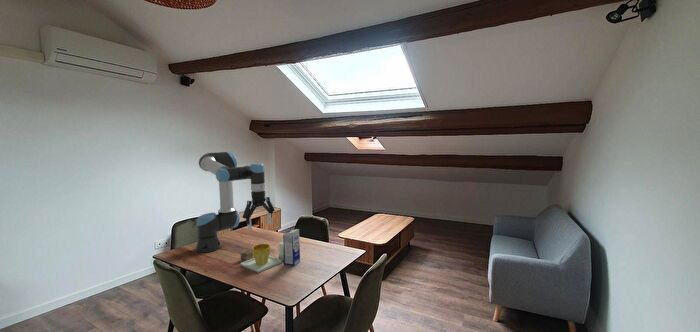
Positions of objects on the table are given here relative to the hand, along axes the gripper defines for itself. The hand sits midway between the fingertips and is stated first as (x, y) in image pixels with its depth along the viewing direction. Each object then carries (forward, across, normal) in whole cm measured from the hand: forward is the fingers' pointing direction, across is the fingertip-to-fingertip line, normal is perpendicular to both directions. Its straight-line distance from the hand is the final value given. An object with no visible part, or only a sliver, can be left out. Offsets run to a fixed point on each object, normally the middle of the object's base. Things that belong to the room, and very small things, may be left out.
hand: (259, 226), depth 168 cm
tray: (+22, 0, 0) cm, 22 cm away
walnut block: (+22, -1, +13) cm, 26 cm away
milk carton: (+22, +11, -14) cm, 29 cm away
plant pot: (+22, 0, 0) cm, 22 cm away
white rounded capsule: (+22, +14, -4) cm, 27 cm away
